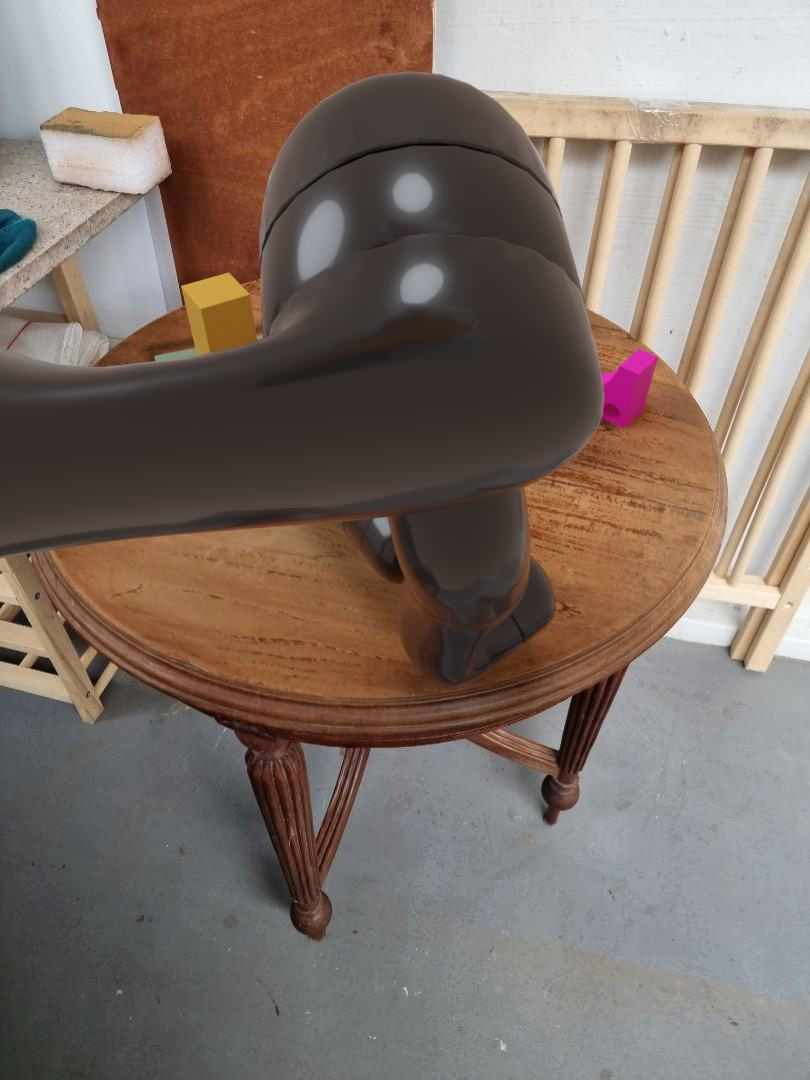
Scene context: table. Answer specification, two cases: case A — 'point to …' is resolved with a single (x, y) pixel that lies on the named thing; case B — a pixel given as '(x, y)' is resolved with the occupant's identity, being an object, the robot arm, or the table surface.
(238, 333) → the yellow block
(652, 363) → the toy block
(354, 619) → the table surface
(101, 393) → the robot arm
